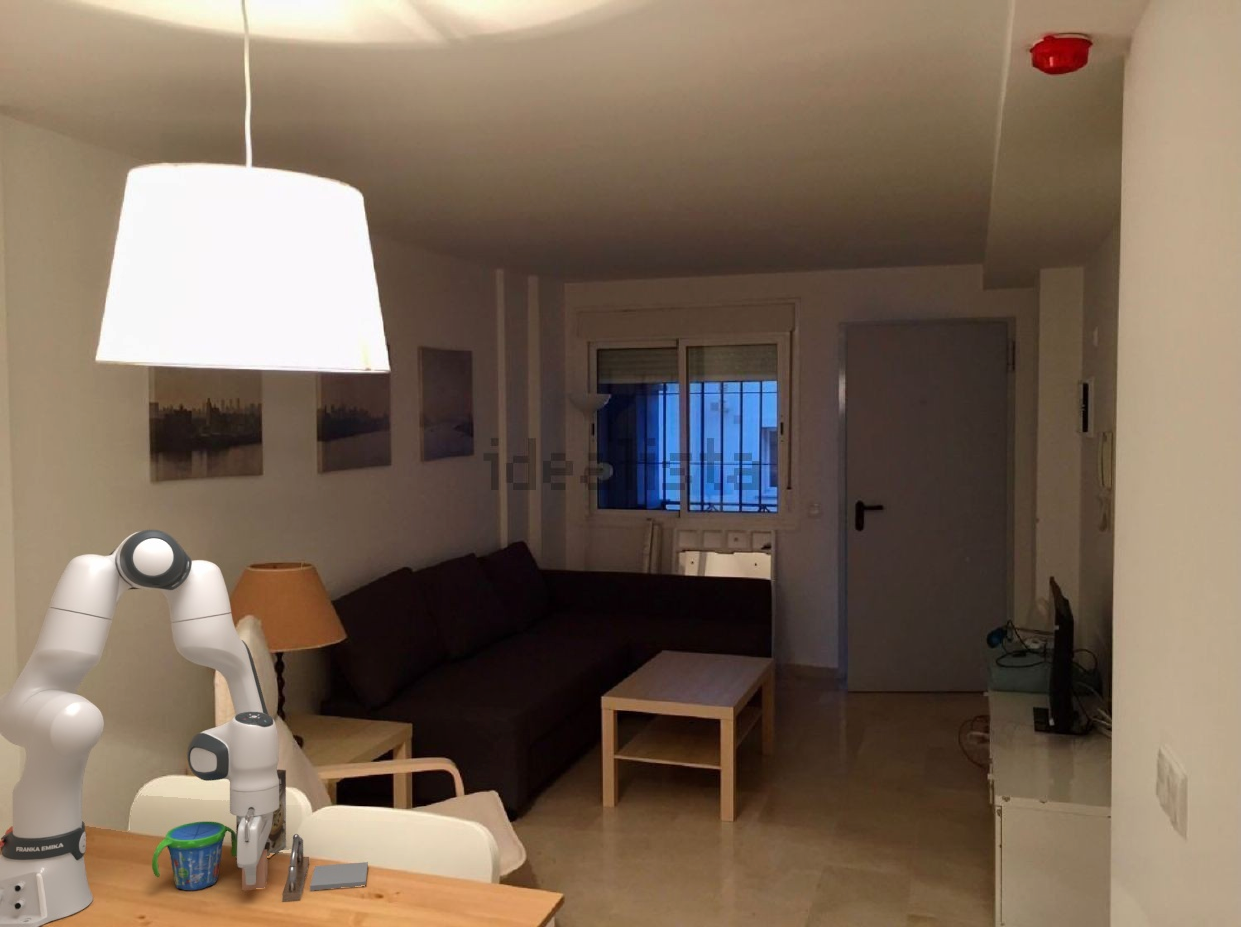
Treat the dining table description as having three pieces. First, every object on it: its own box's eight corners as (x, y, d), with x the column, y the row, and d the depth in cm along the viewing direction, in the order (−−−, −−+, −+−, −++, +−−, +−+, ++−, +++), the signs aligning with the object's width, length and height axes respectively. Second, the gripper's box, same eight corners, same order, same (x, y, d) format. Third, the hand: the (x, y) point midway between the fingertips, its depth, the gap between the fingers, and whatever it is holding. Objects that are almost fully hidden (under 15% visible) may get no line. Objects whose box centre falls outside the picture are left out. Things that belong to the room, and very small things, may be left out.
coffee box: (264, 863, 213) (264, 782, 213) (235, 860, 214) (234, 780, 214) (287, 847, 222) (287, 769, 222) (259, 845, 223) (259, 767, 223)
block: (242, 890, 199) (242, 858, 199) (245, 882, 203) (245, 851, 203) (264, 889, 200) (264, 856, 200) (267, 880, 204) (267, 849, 204)
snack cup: (159, 903, 194) (159, 847, 194) (145, 885, 202) (145, 831, 202) (246, 883, 203) (246, 829, 203) (230, 866, 211) (230, 815, 211)
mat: (310, 891, 199) (310, 885, 199) (315, 871, 208) (315, 866, 208) (365, 887, 201) (365, 881, 201) (367, 867, 210) (367, 862, 210)
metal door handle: (282, 902, 194) (282, 851, 194) (293, 865, 212) (293, 819, 212) (299, 900, 194) (299, 850, 194) (309, 864, 212) (308, 818, 212)
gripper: (264, 817, 192) (265, 894, 192) (278, 783, 212) (278, 853, 212) (227, 819, 191) (228, 897, 191) (245, 785, 211) (245, 856, 211)
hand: (255, 873), depth 202 cm, fingers open, 8 cm apart
